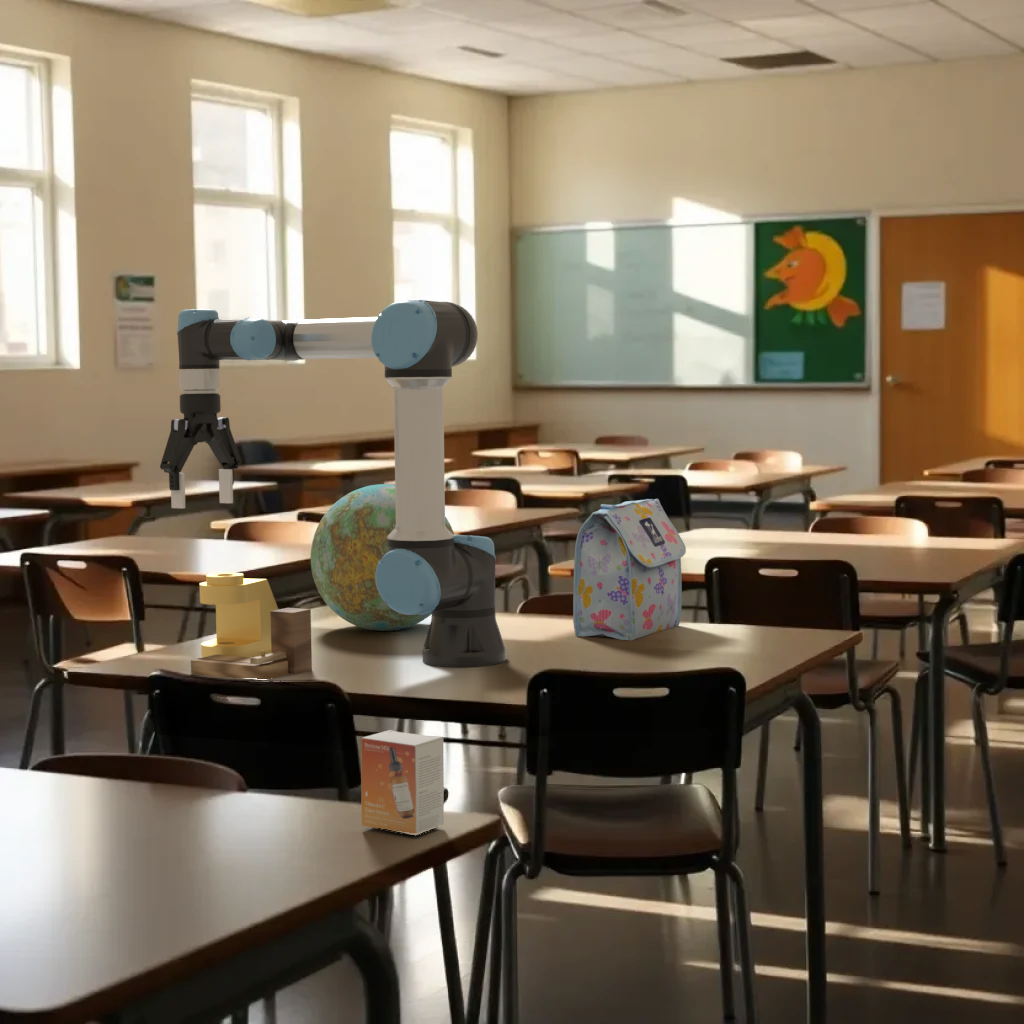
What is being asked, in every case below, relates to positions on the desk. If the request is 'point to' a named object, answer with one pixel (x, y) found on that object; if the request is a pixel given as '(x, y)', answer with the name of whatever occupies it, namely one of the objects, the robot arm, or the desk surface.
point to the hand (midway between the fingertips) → (202, 505)
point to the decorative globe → (358, 558)
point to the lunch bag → (627, 572)
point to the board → (238, 667)
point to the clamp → (238, 614)
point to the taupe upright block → (290, 640)
